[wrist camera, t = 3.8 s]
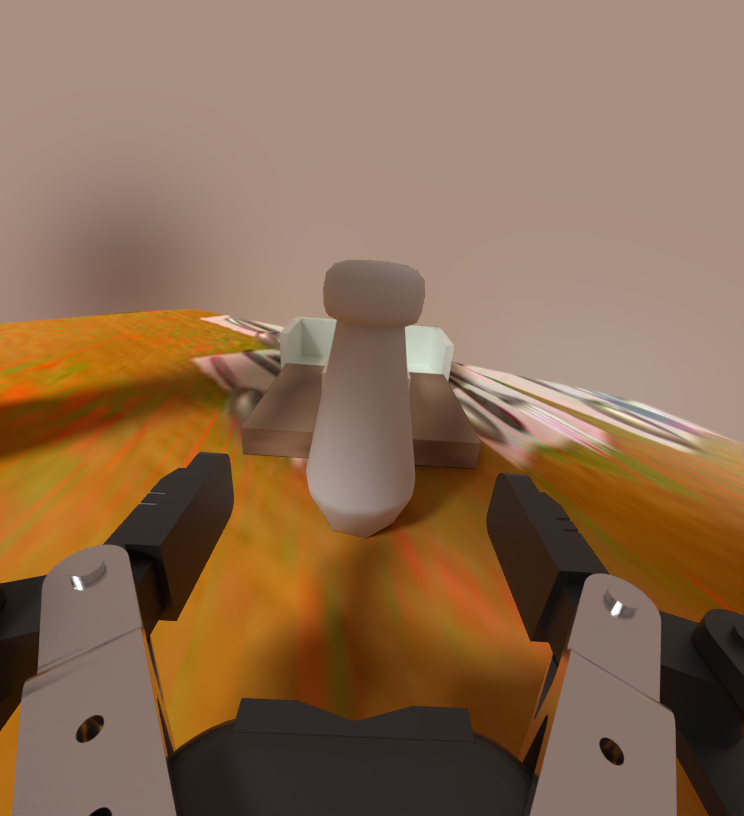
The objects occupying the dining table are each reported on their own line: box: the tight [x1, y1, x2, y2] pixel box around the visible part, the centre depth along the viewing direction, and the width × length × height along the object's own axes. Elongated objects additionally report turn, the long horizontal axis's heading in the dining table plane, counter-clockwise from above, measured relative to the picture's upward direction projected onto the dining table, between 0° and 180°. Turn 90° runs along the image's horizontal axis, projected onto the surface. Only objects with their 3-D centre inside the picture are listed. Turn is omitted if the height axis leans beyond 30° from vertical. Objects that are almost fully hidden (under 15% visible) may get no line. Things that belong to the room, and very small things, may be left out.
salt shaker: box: [306, 260, 425, 538], centre depth 18 cm, size 6×6×13 cm
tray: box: [280, 317, 454, 381], centre depth 41 cm, size 17×8×5 cm, turn 90°
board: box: [241, 363, 482, 469], centre depth 31 cm, size 16×14×2 cm
